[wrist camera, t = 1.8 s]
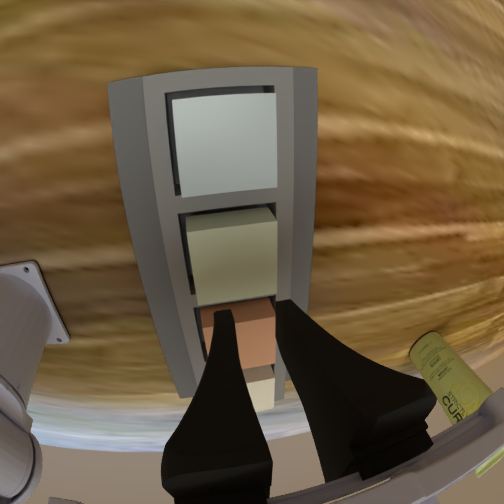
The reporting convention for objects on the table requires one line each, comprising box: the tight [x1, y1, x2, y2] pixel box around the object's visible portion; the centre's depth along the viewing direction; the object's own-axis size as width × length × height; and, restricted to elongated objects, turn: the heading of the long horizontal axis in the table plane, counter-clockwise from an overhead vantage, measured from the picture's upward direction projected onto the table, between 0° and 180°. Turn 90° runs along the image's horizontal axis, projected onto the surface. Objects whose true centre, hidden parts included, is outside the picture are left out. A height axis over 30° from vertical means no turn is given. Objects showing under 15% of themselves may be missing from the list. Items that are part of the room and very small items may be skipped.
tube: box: [409, 332, 504, 478], centre depth 26 cm, size 6×5×20 cm
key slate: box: [172, 93, 277, 198], centre depth 14 cm, size 5×5×2 cm
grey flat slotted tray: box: [107, 66, 318, 401], centre depth 21 cm, size 12×27×3 cm, turn 2°
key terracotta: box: [200, 297, 276, 369], centre depth 21 cm, size 5×5×2 cm
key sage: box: [186, 207, 277, 305], centre depth 17 cm, size 5×5×2 cm
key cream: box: [242, 364, 275, 412], centre depth 24 cm, size 5×5×2 cm
